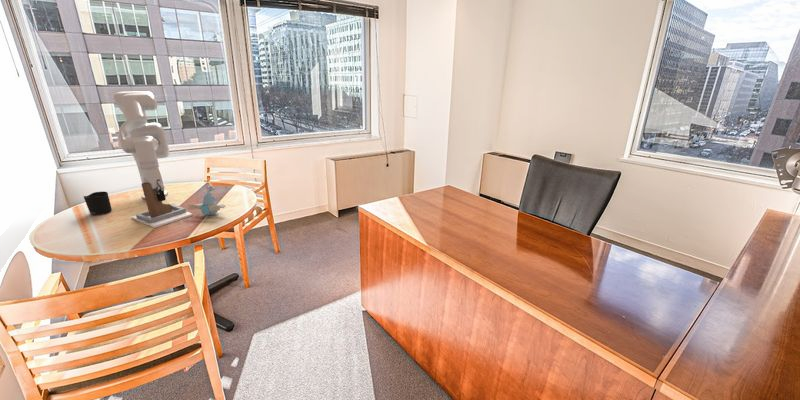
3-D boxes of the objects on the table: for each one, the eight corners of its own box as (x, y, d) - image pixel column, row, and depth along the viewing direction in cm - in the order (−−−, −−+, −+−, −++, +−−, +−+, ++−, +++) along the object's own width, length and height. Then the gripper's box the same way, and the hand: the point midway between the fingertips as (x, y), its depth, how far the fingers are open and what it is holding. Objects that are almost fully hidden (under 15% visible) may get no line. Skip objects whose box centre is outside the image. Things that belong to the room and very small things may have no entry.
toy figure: (232, 211, 178) (227, 184, 173) (220, 219, 169) (215, 191, 163) (203, 209, 180) (197, 183, 175) (190, 217, 170) (183, 189, 165)
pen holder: (88, 212, 175) (82, 194, 172) (111, 207, 182) (105, 190, 178) (90, 217, 169) (84, 198, 166) (114, 212, 176) (108, 194, 172)
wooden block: (165, 211, 175) (157, 178, 169) (172, 211, 174) (164, 179, 168) (150, 217, 167) (140, 183, 160) (157, 218, 166) (148, 184, 160)
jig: (131, 218, 168) (130, 213, 167) (169, 207, 183) (168, 202, 182) (154, 228, 158) (153, 222, 157) (192, 215, 173) (191, 210, 172)
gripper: (131, 164, 162) (140, 198, 168) (149, 169, 154) (159, 204, 160) (148, 161, 168) (157, 194, 174) (167, 165, 160) (175, 200, 166)
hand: (157, 199), depth 167 cm, fingers open, 7 cm apart
